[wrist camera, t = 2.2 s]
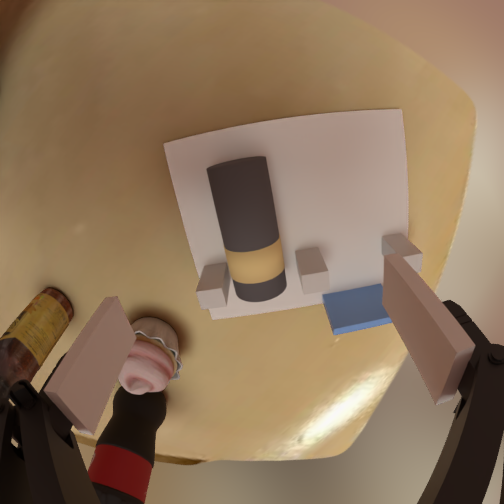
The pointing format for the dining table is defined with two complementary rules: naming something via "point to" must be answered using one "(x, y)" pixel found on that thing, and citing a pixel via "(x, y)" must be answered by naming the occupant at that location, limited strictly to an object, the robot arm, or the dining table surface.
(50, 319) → the sauce bottle
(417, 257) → the white base plate
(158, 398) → the cola bottle
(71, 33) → the dining table surface
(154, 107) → the dining table surface
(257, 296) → the banded cylinder post
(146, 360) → the cupcake
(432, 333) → the robot arm
